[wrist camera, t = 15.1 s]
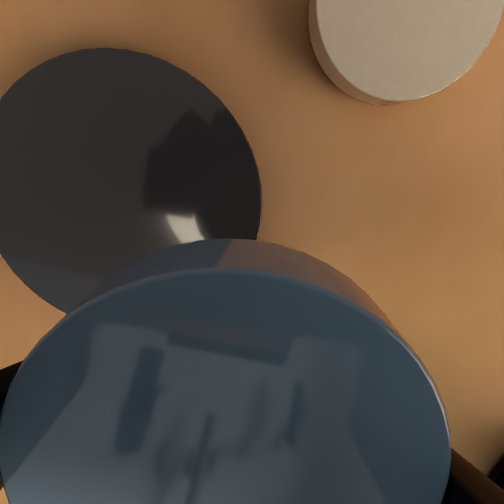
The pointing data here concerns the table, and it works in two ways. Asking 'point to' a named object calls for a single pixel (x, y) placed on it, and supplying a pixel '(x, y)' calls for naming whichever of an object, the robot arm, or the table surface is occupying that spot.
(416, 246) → the table surface
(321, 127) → the table surface
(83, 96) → the charcoal plate
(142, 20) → the table surface
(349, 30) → the cream saucer
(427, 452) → the blue saucer
